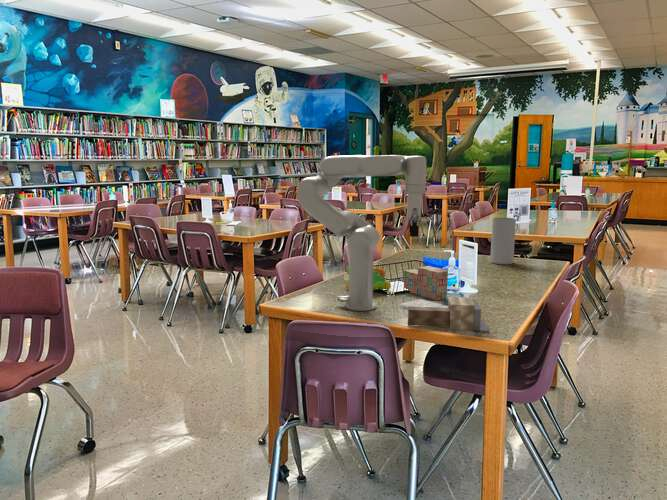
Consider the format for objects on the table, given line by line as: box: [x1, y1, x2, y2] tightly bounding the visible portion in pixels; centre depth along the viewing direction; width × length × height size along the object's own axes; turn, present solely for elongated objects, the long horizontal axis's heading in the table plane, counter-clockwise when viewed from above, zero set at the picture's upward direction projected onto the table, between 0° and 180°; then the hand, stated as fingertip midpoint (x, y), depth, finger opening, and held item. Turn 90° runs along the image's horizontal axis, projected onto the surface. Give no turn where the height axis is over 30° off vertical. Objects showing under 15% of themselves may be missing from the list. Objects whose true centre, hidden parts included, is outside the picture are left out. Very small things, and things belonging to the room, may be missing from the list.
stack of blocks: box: [403, 265, 449, 301], centre depth 253 cm, size 21×6×12 cm, turn 33°
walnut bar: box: [407, 306, 450, 328], centre depth 209 cm, size 18×5×6 cm, turn 84°
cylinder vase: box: [490, 216, 517, 266], centre depth 327 cm, size 12×12×25 cm
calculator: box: [399, 298, 448, 310], centre depth 230 cm, size 13×20×2 cm, turn 40°
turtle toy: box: [345, 264, 392, 291], centre depth 262 cm, size 17×23×12 cm
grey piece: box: [471, 298, 490, 333], centre depth 207 cm, size 5×14×8 cm, turn 174°
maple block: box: [447, 296, 475, 331], centre depth 208 cm, size 8×11×9 cm
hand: (413, 234), depth 220 cm, fingers open, 9 cm apart
